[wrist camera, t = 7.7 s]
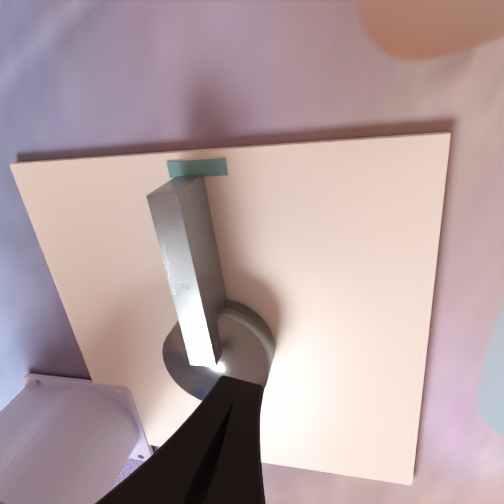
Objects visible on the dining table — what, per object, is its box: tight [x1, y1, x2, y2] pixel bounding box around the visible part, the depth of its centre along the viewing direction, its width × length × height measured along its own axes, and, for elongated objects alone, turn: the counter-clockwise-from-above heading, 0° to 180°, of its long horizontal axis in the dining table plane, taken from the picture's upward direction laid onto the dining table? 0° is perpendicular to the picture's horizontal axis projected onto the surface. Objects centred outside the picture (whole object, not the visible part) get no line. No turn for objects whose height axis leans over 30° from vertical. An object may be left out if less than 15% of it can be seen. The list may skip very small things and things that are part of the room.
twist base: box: [9, 132, 451, 485], centre depth 23 cm, size 22×22×1 cm
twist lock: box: [146, 174, 275, 401], centre depth 19 cm, size 13×6×3 cm, turn 8°
